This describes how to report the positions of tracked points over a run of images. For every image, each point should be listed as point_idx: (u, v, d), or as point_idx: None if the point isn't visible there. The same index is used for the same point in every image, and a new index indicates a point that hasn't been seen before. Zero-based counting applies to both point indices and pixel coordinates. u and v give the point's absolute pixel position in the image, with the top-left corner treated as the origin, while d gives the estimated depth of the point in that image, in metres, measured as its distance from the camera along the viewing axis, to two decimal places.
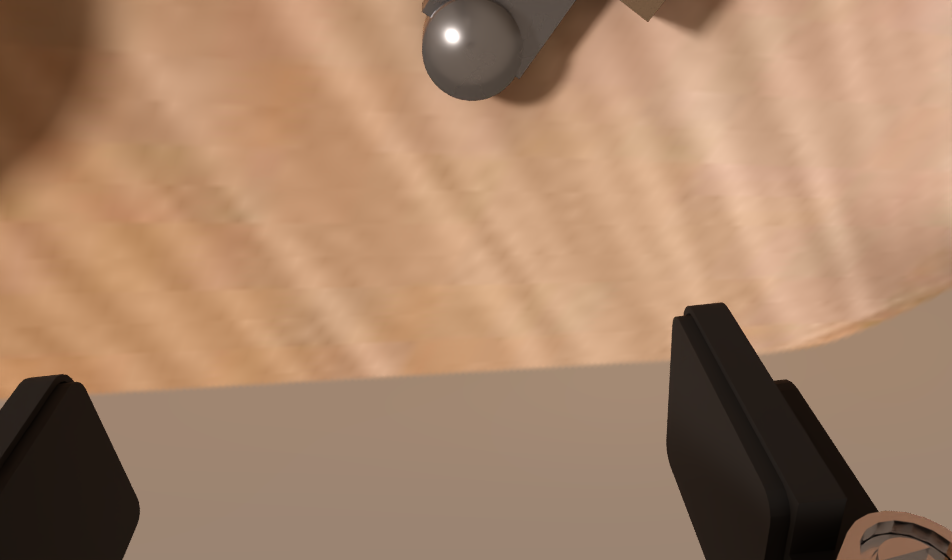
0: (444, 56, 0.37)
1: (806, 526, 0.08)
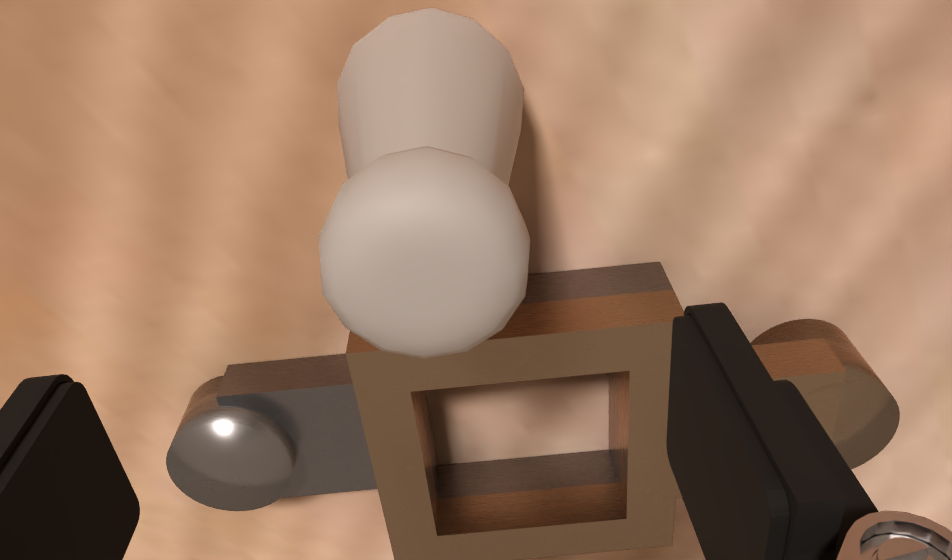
0: (198, 453, 0.30)
1: (806, 526, 0.08)
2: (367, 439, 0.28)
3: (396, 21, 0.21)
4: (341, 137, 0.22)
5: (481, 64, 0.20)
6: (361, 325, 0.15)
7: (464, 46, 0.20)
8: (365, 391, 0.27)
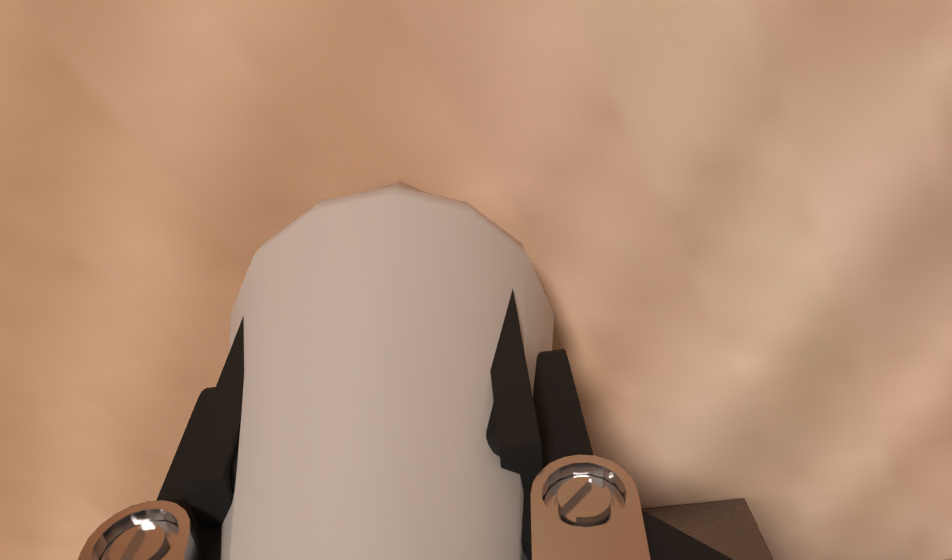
0: None
1: (511, 468, 0.09)
2: None
3: (327, 222, 0.12)
4: None
5: (485, 322, 0.11)
6: None
7: (451, 284, 0.11)
8: None
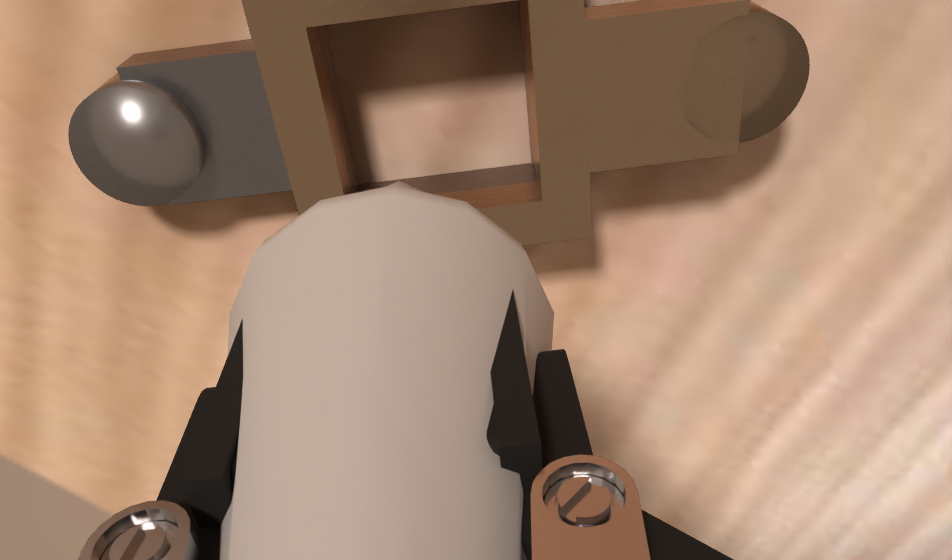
0: (100, 128, 0.29)
1: (511, 468, 0.09)
2: (267, 92, 0.28)
3: (327, 221, 0.12)
4: None
5: (484, 322, 0.11)
6: None
7: (451, 284, 0.11)
8: (259, 27, 0.27)
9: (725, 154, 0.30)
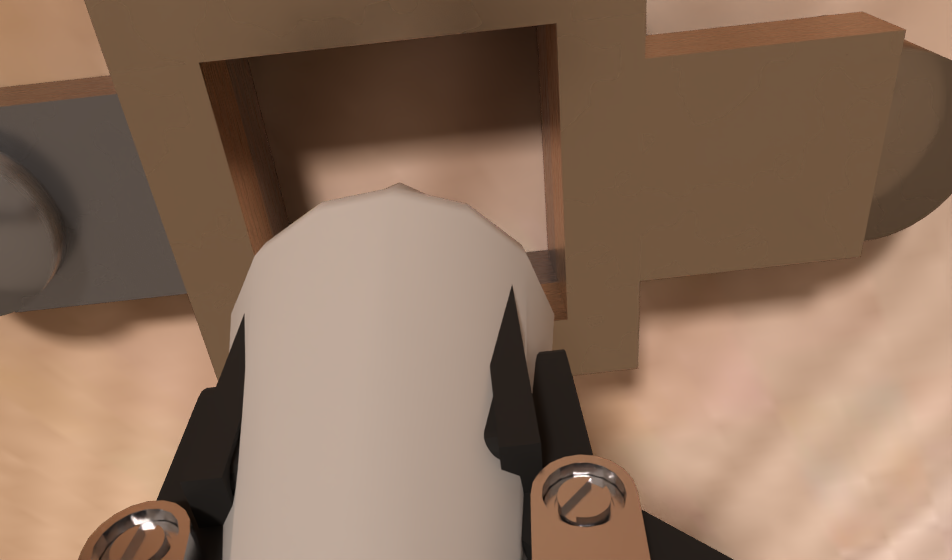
0: None
1: (512, 468, 0.09)
2: (143, 162, 0.18)
3: (328, 223, 0.12)
4: None
5: (485, 324, 0.11)
6: None
7: (452, 286, 0.11)
8: (122, 60, 0.16)
9: (842, 256, 0.20)
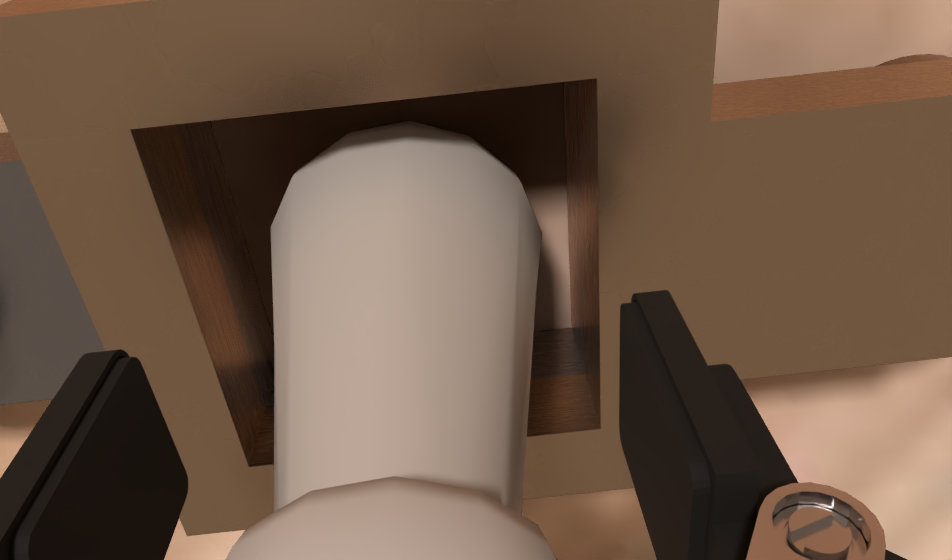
0: None
1: (725, 497, 0.08)
2: (64, 251, 0.14)
3: (355, 146, 0.14)
4: None
5: (485, 222, 0.13)
6: None
7: (458, 193, 0.13)
8: (30, 127, 0.13)
9: (942, 354, 0.16)
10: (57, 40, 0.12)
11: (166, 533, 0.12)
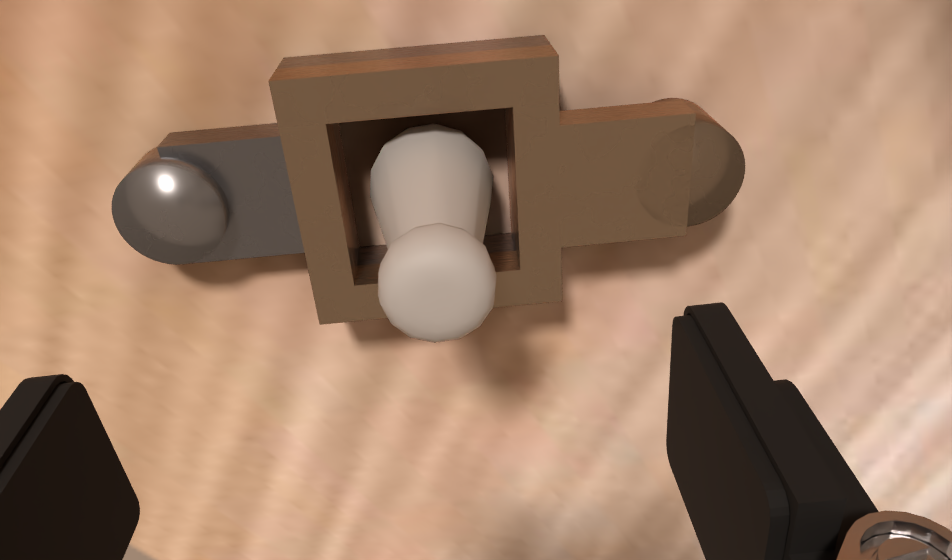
0: (140, 198, 0.34)
1: (806, 526, 0.08)
2: (289, 175, 0.33)
3: (412, 133, 0.33)
4: (373, 205, 0.34)
5: (467, 164, 0.32)
6: (401, 322, 0.26)
7: (456, 152, 0.32)
8: (286, 122, 0.31)
9: (676, 235, 0.35)
10: (303, 88, 0.31)
11: None
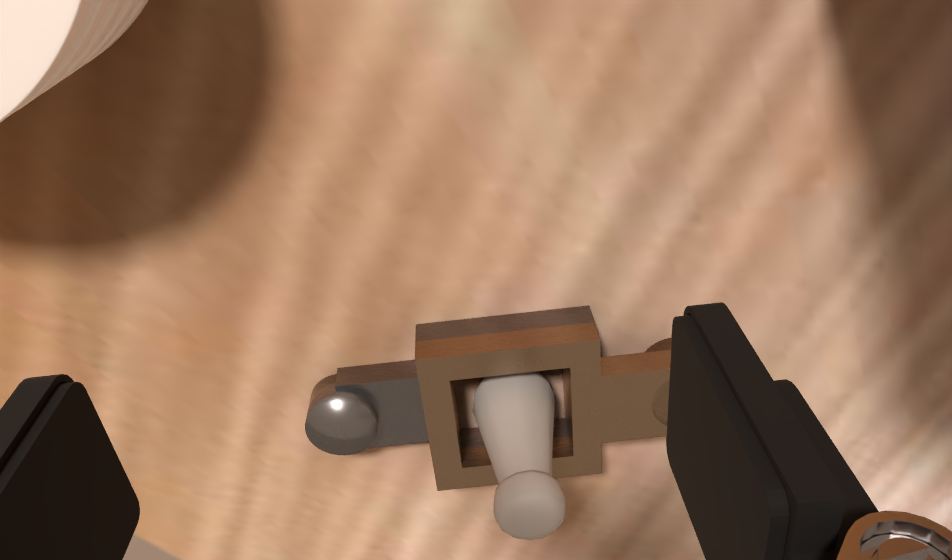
0: (324, 419, 0.51)
1: (806, 526, 0.08)
2: (424, 408, 0.50)
3: (503, 377, 0.50)
4: (477, 422, 0.51)
5: (540, 403, 0.49)
6: (509, 531, 0.44)
7: (533, 394, 0.49)
8: (424, 380, 0.49)
9: None
10: (436, 363, 0.48)
11: None
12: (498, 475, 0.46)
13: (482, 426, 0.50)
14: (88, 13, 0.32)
